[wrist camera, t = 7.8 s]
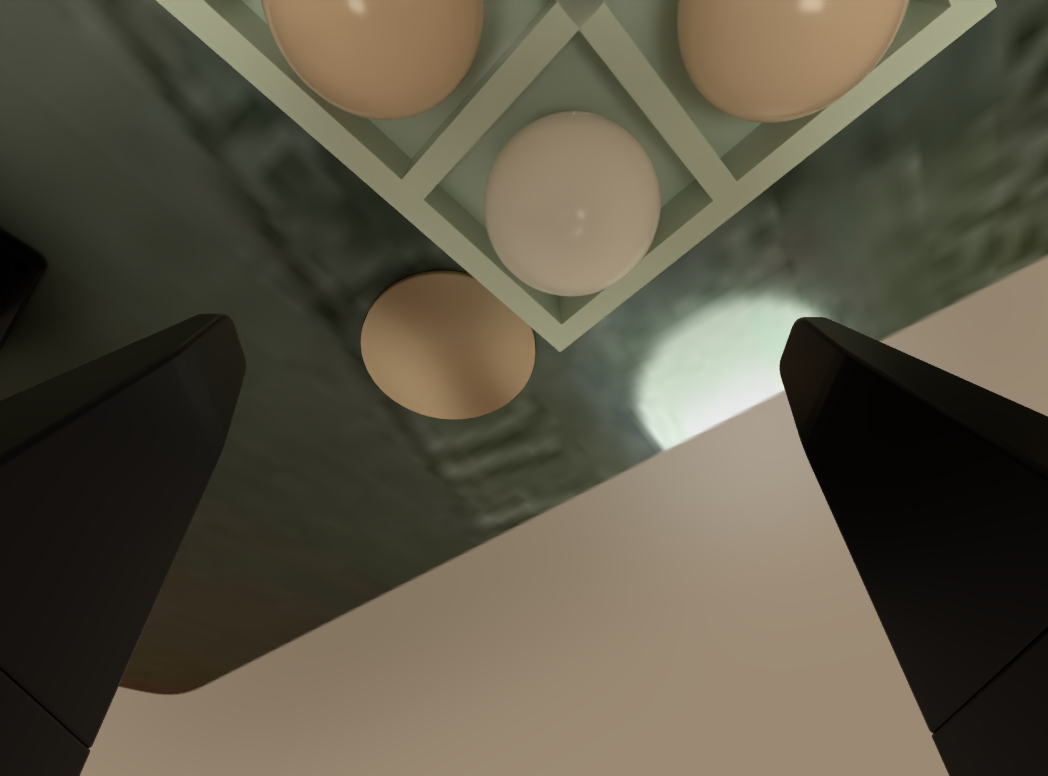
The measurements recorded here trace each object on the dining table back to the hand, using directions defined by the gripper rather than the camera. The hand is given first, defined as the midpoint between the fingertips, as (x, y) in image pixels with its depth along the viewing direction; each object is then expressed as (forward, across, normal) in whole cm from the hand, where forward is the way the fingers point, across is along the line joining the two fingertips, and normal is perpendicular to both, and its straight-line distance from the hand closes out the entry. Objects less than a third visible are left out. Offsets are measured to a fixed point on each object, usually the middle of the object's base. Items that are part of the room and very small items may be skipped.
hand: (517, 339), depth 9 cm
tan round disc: (+12, +2, +8) cm, 15 cm away
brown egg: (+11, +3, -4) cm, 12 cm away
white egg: (+11, -2, +1) cm, 11 cm away
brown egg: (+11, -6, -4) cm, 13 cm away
